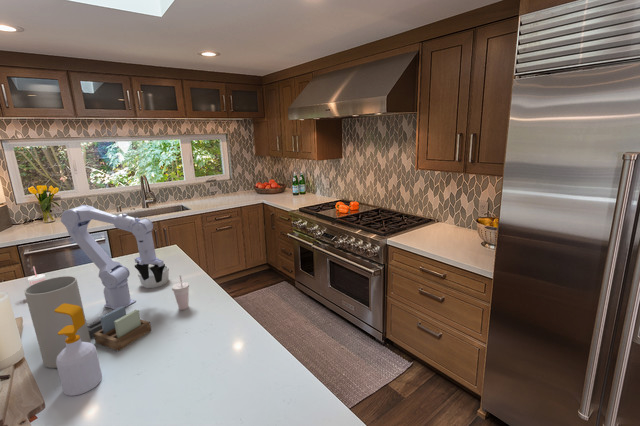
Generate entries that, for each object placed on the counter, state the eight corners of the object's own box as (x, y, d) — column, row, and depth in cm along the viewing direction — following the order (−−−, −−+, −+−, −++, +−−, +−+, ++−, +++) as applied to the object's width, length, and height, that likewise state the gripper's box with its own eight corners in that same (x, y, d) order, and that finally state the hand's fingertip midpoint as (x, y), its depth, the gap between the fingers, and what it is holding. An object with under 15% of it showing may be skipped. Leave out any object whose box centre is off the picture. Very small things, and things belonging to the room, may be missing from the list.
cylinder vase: (52, 349, 110) (34, 280, 104) (96, 340, 115) (81, 273, 109) (37, 374, 99) (16, 298, 93) (86, 362, 103) (69, 289, 97)
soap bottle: (76, 374, 98) (58, 299, 92) (108, 371, 99) (92, 296, 93) (55, 398, 89) (33, 316, 84) (91, 394, 90) (71, 313, 84)
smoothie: (186, 311, 131) (181, 279, 128) (171, 310, 132) (166, 278, 129) (195, 303, 137) (190, 272, 134) (181, 302, 138) (176, 271, 135)
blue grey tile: (104, 340, 114) (99, 317, 112) (126, 328, 121) (122, 305, 119) (107, 341, 114) (102, 317, 112) (129, 328, 121) (124, 306, 119)
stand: (83, 335, 117) (82, 328, 117) (117, 318, 128) (115, 311, 128) (91, 338, 116) (89, 331, 115) (124, 320, 127) (123, 313, 126)
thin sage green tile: (118, 345, 111) (113, 321, 109) (139, 332, 118) (135, 309, 116) (121, 346, 111) (116, 322, 109) (142, 333, 118) (138, 310, 116)
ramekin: (176, 280, 160) (174, 267, 158) (150, 292, 149) (147, 277, 148) (160, 275, 167) (158, 262, 165) (134, 286, 156) (131, 272, 155)
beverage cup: (53, 292, 153) (46, 263, 150) (41, 298, 147) (33, 269, 144) (41, 292, 153) (33, 263, 150) (28, 298, 148) (20, 269, 144)
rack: (95, 342, 113) (93, 333, 112) (129, 323, 124) (127, 315, 123) (118, 351, 108) (116, 341, 107) (151, 330, 119) (149, 321, 118)
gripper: (125, 250, 133) (131, 282, 136) (150, 254, 127) (156, 287, 130) (141, 245, 139) (147, 275, 142) (165, 248, 133) (171, 279, 136)
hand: (152, 280), depth 136 cm, fingers open, 7 cm apart
